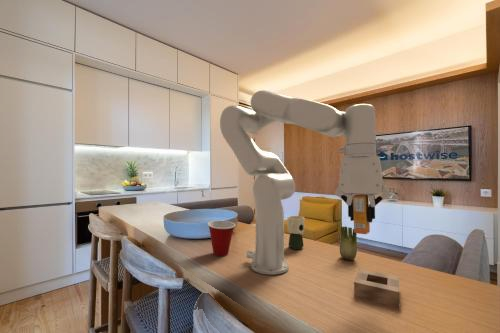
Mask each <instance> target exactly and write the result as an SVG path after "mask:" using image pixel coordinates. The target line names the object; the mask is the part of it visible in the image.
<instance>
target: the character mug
mask: <svg viewBox="0 0 500 333" xmlns="http://www.w3.org/2000/svg"><path fill="white" fill-rule="evenodd" d="M305 222H306V221H305V217H304V216H300V215H289V216H287V232H288V233H290V234H289V238H288V247H289V248H292V249H294V250H300V249H301V250H302V249H304V239H303V235H302V234H304V233H305V225H306V224H305Z"/></svg>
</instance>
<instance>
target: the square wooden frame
mask: <svg viewBox="0 0 500 333" xmlns="http://www.w3.org/2000/svg"><path fill="white" fill-rule="evenodd" d="M353 296H354V297H355V298H358V299H364V300H368V301H371V302H375V303H379V304H382V305H387V306H391V307H395V308H398V309H400V276H397V275H392V274H391V275H390V274H386V273H381V272H376V271H372V270H366V269H361V268H358V271H357V274H356V276H355V278H354V281H353Z"/></svg>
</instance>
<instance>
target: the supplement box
mask: <svg viewBox="0 0 500 333" xmlns="http://www.w3.org/2000/svg"><path fill="white" fill-rule="evenodd" d="M369 204H370V202H369V197H368V195H359V194H354V196H353V216H354V220H353V229H354V233H357V234H359V235H360V234H361V235H367V234H369V233H370V231H371V230H370V228H371V227H370V226H371V225H370V224H371V223H370V222H368V207H369Z"/></svg>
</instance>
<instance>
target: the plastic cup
mask: <svg viewBox="0 0 500 333" xmlns="http://www.w3.org/2000/svg"><path fill="white" fill-rule="evenodd" d="M207 226H208V228H209V233H210V243H211V247H212V254H213V255H214V256H216V257H225V256H228V255H229V253H230V246H231V241H232V236H233V231H234V228H235V227H236V223H235V222H232V221H227V220H212V221H209V222H207Z"/></svg>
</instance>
